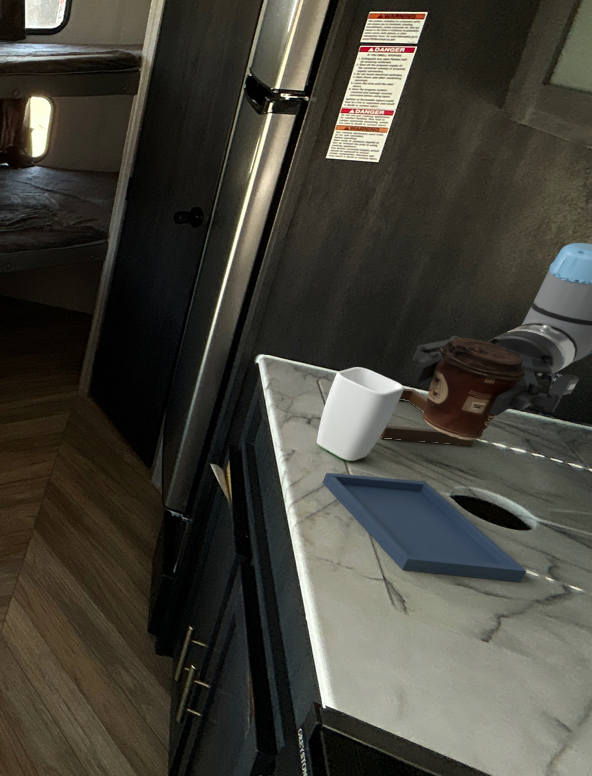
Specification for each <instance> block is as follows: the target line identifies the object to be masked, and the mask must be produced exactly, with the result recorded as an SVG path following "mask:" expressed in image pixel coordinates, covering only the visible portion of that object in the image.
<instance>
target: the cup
mask: <svg viewBox="0 0 592 776" xmlns="http://www.w3.org/2000/svg"><path fill="white" fill-rule="evenodd" d="M404 389H405V387H404V386H403V385H402V384H401V383H400V382H397V381H396V380H393V379H391V378H389V377H386V376H384V375H382V374H381V373H377V372H375V371H373V370H371V369H368V368H365V367H361V366H355V367H350V368H347V369H344V370H340V371H338V372H336V375H335V377H334V379H333V381H332V384H331V387H330V390H329V393H328V395H327V397H326V401H325V404H324V408H323V411H322V414H321V418H320V422H319V427H318V432H317V437H316V443H317V445H318V446H320V448H321V449H323V450H325V451H327V452H328V451H329V453H330V454H332V455H334V456H335V457H337V458H339V459H340V460H343V461H347V462H351V461H354V462H355V461H356V460H360V459H362V458H365V457H367V456H368V455H369V454H370V452H371V451H372V450H373V448H374V447H375V446H376V444H377V442H378V440H380V436H381V434H382V433H383V431H384V429H385V427H386V425H388V423H389V422H390V420H391V418H392V416H393V414H394V412H395V410H396V408H397V406H398V404H399V402H400V401H399V399H400V397H401V395H402V392H403V390H404Z"/></svg>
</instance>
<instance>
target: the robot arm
mask: <svg viewBox="0 0 592 776" xmlns="http://www.w3.org/2000/svg"><path fill="white" fill-rule="evenodd" d="M457 338H462V337H460V336H458V335H451V336H450V338H449V339H445V340H439V341H433V342H429V343H424V344H419V345H417V346H416V347H417V348H416V350H415V351H414V354H413V357H412V361H413V362H414V363H417V364H416V366H415V371H414V373H413V375H412V377H411V379H410V380H409V381H410V383H413V384H416V385H418V384H420V383H423V382H424V381H427V380H429V379H430V378H433V375H434V371H435V367H436V365H437V363H439V362H440V361H441V359H442V358H443V357H442V355H441V352H440V351H439V350H438V348H439V347H441V346H444V345H446V344H447V343H448V342H449V341H453V340H454V339H457ZM487 342H489V343H493V344H495V345H498V346H500V347H502V348H504V349H506V350H507V351H509V352H511V353H514V354H516V355H517V356H518V357H520V358H521V359H522V361H523V362H522V365H521V366H522V367H523V368H524V371H525V377H524V378H523V379H521V380H520V381H517V382H516V385H515V386H514V387H513V388H512V389H509V390H508V391H506V392H504V393H502V394H500V395H498V396H497V398H496V400H495V402H494V404H493V406H492V408H491V410H490V412H489V413H491V414H493V415H495V417H497V416H500V415H501V414H503V413H505V412H506V411H508V410H510V409H511V408H516V409H518V410H525V409H527V408H528V407H533V406H539V407H540V408H539V409H541V410H542V411H545V412H547V413H554V411H555V410H556V408H557V407H558V405H559V403H560V401H561V399H562V397H563V396H565V395H569V394H572V392H573V391H574V389H575V387H576V385H577V383H578V382H579V380H580V378H579V377H578V376H576V375H574V374H562V373H558V372H559V371H561V370H563V369H564V368H566V367H568V366H569V365H570V364H573V363H574V362H578V361H580V360H583V359H585V358H586V357H587V356H590V355H591V354H592V243H585V242H574V243H569V244H566V245H565V246H563V247H561V249H560V251H559V252H558V254H557V256H556V257H555V259H554V261H553V262H552V263H551V264H550V266H549V269H548V271H547V273H546V275H545V277H544V279H543V281H542V284H541V286H540V288H539V289H538V292H537V294H536V296H535V298H534V301H533V303H532V305H531V306H530V308H529V310H528V312H527V314H526V316H525V318H524V319H523V322H522V323H521V325H519V326H516V327H515V328H513V329H510V330H509V331H506V332H504V333H502V334H499V335H497V336H495V337H492V338H491V339H489V340H488V341H487ZM538 382H548V385H550V386H549V387H548V389H549V390H548V393H544V392H541V391H542V389H543V388H544V385H540V384H539V383H538Z"/></svg>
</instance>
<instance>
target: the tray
mask: <svg viewBox="0 0 592 776" xmlns="http://www.w3.org/2000/svg"><path fill="white" fill-rule="evenodd" d="M322 484H323V485H324V486H325V487H326V488H327V489H328V490H329V492H330V493H331V494H332V495H333V496H334V497H335V498H336V499H337V500H338V502H339V503H340V504H341V505H342V506H343V507H344V508H345V509H346V510H347V512H349V514H351V516H352V517H353V518H354V519H355V520H356V521H357V523H359V524H360V525H361V527H362V528H363V529H364V531H366V532H367V534H369V535H370V537H371V538H372V539H373V540H374V541H375V542H376V543H377V545H379V546H380V548H382V549H383V551H384V552H385V553H386V554H387V555H388V556H389V557H390V558H391V559H392V560H393V562H394V563H395V564H396V565H397V566H398V567H399V568H400V569H401V570H402V571H410V572H417V573H418V572H419V573H420V572H421V573H427V574H437V575H438V574H440V575H448V576H459V577H467V578H476V579H477V578H478V579H485V580H486V579H487V580H495V581H496V580H497V581H505V582H506V581H507V582H513V583H514V582H515V583H521V581H522V579H523V578H524V576H525V575H526V573H527V570H526V569H525V568H524V567H523V566H522V565H521V564H520V563H518V561H516V560H515V559H514V558H513V557H511V556H510V555H509V554H508V553H507V552H506V551H505V550H504V549H502V547H500V546H499V545H498V544H497V543H496V542H495V541H493V539H491V538H490V537H489V536H488V535H487V534H485V532H483V531H482V530H481V529H480V528H479V527H477V525H475V524H474V523H473V522H472V521H471V520H469V518H467V517H466V516H465V515H464V514H463V513H462V512H461V511H459V510H458V509H457V508H456V507H455V506H454V505H453V504H452V503H451V502H449V501H448V500H447V499H446V498H445V497H444V496H443V495H441V494H440V493H439V492H438V491H436V490H435V489H434V488H433V487H432V486H431V485H430V484H428V482H427V481H424V480H415V479H414V480H412V479H403V478H389V477H378V476H369V475H368V476H367V475H357V474H356V475H355V474H345V473H335V472H326V473H325V476H324V478H323V480H322Z"/></svg>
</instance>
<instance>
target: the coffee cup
mask: <svg viewBox="0 0 592 776" xmlns="http://www.w3.org/2000/svg"><path fill="white" fill-rule="evenodd" d="M438 350H439V351H440V352H441V355H442V357H443V358H442V359H441V361H440V362H439V363H437V365H436V367H435V371H434V375H433V377H431V378H432V379H431V382H430V385H429V388H428V392H427V396H426V398H427V403H426V407H425V410H424V413H422V418H423V421H424V422H426V423H427V425H429V426H430V427H431V428H433V429H435V430H438V431H440V432H442V433H445V434H447V435H450V436H452V437H457V438H459V439H464V440H474V441H476V440H479V439H481V438H482V437H483V433H484V431H485V430H486V429H488V428H489V426H490V424H491V423H492V421H493V420H494V419H495V417H496V415H493V414H491V413H489V412H490V410H491V408H492V406H493V404H494V402H495V400H496V398H497V396H498V395H500V394H502V393H504V392H506V391H508V390H509V389H512V388H513V387H515V385H516V382H517V381H520V380H521V379H523V378H524V377H525V371H524V368H523V367H522V366H521V365H522V362H523V361H522V359H521V358H520V357H518V356H517V355H516V354H514V353H511V352H509V351H507V350H506V349H504V348H502V347H500V346H498V345H495V344H493V343H489V342H488V341H484V340H480V339H475V338H469V337H461V338H457V339H454V340H453V341H449V342H448V343H447V344H446V345H444V346H441V347H439V348H438Z"/></svg>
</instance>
